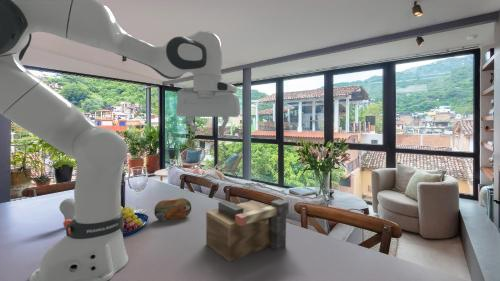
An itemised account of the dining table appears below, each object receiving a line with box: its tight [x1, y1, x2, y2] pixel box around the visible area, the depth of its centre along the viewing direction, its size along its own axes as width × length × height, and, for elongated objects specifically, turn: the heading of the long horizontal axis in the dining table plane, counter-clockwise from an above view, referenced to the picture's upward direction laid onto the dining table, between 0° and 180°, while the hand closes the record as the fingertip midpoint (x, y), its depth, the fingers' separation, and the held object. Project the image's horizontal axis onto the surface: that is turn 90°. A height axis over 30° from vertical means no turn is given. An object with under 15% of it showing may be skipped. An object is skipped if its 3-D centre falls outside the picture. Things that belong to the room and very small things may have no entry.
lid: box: [205, 200, 268, 229], centre depth 83 cm, size 20×18×5 cm
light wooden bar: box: [235, 205, 278, 226], centre depth 77 cm, size 15×3×2 cm, turn 129°
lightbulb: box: [58, 197, 75, 221], centre depth 98 cm, size 6×6×11 cm
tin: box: [153, 197, 192, 222], centre depth 107 cm, size 15×3×8 cm, turn 114°
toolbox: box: [205, 199, 290, 263], centre depth 83 cm, size 20×18×15 cm
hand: (207, 131), depth 79 cm, fingers open, 8 cm apart
